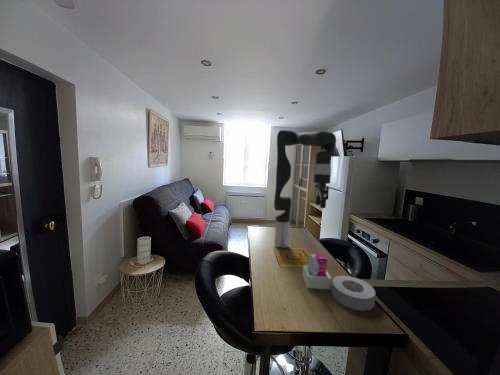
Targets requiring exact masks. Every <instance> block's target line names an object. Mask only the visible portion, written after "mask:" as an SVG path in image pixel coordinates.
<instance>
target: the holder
mask: <svg viewBox="0 0 500 375" xmlns="http://www.w3.org/2000/svg"><path fill="white" fill-rule="evenodd" d="M302 278H303V281H304V283H305V287H306V288H307V289H317V290H329V291H332V282H333V279H332V277H331V275H330V274H329V271H328V270H327V269H326V277H325V276H311V275H310V274H309V272H308V265H302Z"/></svg>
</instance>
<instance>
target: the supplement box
mask: <svg viewBox="0 0 500 375" xmlns="http://www.w3.org/2000/svg"><path fill="white" fill-rule="evenodd" d="M327 262H328V258H326V257H325V256H324V255H323V254H322V253H309V254H308V265H307V266H308V272H309V274H310V275H311V276H325V277H326V270H327V265H328V263H327Z"/></svg>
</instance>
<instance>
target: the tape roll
mask: <svg viewBox="0 0 500 375" xmlns="http://www.w3.org/2000/svg"><path fill="white" fill-rule="evenodd" d="M376 295H377V294H376V290H375V289H374V287H373V286H372V285H370V283H368V282H366V281H365V280H362V279H360V278H358V277H353V276H349V275H337V276H335V277H334V278H333V279H332V281H331V296H332V297H333V299H334V300H336V301H337V302H338V303H339V304H340V305H342V306H345V307H347V308H349V309H352V310H354V311H359V310H360V311H361V312H365V311H364V310H368V311H371V310H373V309H374V308H375V304H376ZM373 307H374V308H373ZM372 308H373V309H372ZM370 309H371V310H370Z"/></svg>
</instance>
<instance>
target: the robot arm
mask: <svg viewBox="0 0 500 375" xmlns="http://www.w3.org/2000/svg"><path fill="white" fill-rule="evenodd" d="M336 143H337V137H336V134H335V133H334V132H329V131H322V130H321V131H320V130H318V131H306V132H302V133H301V132H297V131H293V130H288V129H287V130H286V129H281V130H280V129H279V131H278V133H277V136H276V148H277V149H276V150H277V158H276V160H277V161H276V171H275V174H276V175H275V194H274V201H273V202H274V203H273V205H274V206H273V207H274V210H275V211H279V212H280V211H281V212H282V211H283V212H282V213H280V214H277V215H276V216H275V227H274V228H275V229H274V230H275V231H274V246H275V245H276V246H277V247H276V246H275V247H276V248H278V247H282V248H281V249H286V247H287V248H288V247H289V244H290V243H289V242H290V241H289V240H290V222H291V210H292V198H291V197H290V196H281V194H282V191H283V190H284V188H285V186H286V185H287V183H288V182H290V179H291V177H292V176H291V175H292V165H291V163H290V160H289V159H288V156H287V153H286V146H287V147H290V146H297V145H302V146H307V147H308V146H309V147H310V146H311V147H323V148H322V151H319V152H317V153H316V154H315V166H314V174H313V183H314V184H315V185H314V197H315V205H316V206H320V208H321V209H325V208H326V207H327V206H326V205H327V200H329V189H330V187H329V186H327V185H328V184H331V175H332V155H333V152H334V151H335V150H334V149H335V146H336Z"/></svg>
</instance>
